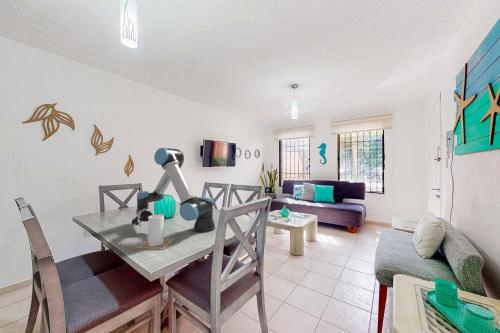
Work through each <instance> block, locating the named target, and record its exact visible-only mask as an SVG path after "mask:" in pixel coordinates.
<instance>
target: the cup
mask: <svg viewBox="0 0 500 333" xmlns="http://www.w3.org/2000/svg"><path fill="white" fill-rule="evenodd" d="M164 215H165V214H160V215H156V214H153V215H151V216H149V217H148V221H147V222H148V224H147V228H148V229H147V230H148V231H147V233H148V234H147V236H148V238H147V240H148V245H149V246H159V245H161V244H163V243H164V237H165V232H164V231H165V223H164Z"/></svg>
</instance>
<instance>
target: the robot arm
mask: <svg viewBox="0 0 500 333" xmlns="http://www.w3.org/2000/svg"><path fill="white" fill-rule="evenodd" d="M153 156H154V157H153V159H154V162H155V164H157V165H159V166H160V167H161V168H162V170H164V172H163V173H162V176H161V178H160V179H159V181H158V183H157V185H156V186H155V188H154V190H153V192H152V191H151V192H149V191H147V190H142V191H141V190H140V191H137V194H136V204H137V205H136V210H135V214H136V216H135V217H133V219H131V225H135V226H138V227H139V228H140V227H142V222H145V223H147V222H148V217H149V216H151V215H154V214H153V213H152V212H151V211H150V210H149V204H150V203H154V202H160V201H162V200H164V199H165V192H166V190H168V187H169V185H170V183H171V184H172V187H174V190H175V192H176V194H177V196H178V198H179V200H180V202H179V206H180V207H179V215H180V217H181V218H182V219H183V220H185V221H187V222H188V221H189V222H192V221H194V224H193V231H195V232H198V233H207V232H212V231H214V230H215V229H216V225H215V224H216V223H215V221H214V218H213V215H214V212H213V211H214V201H213V200H214V199H213V198H212V197H207V196H197V195H195V194H194V193H193V192H192V190H191V188H190V186H189V184H188V182H187V180H186V177H185V176H184V173H183V172H182V170H181V168H182V167H183V164H184V162H185V154H184V153H183V151H182V150H180V149H177V148H169V147H159V148H158V149H157V150H156V151H155V152H154V155H153ZM155 215H161V214H159V213H155ZM163 215H164V224H165V221H166V219H167V215H166V214H163Z"/></svg>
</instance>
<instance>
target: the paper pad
mask: <svg viewBox="0 0 500 333" xmlns="http://www.w3.org/2000/svg"><path fill="white" fill-rule="evenodd" d="M174 241H175V239H164V243H163V244H161V245H159V246H149V245H148V239H147V240H146V241H145V240H144V242H142V243H141V244H140V245H139V246H137V247H135V250H137V249H138V250H166V249H167V248H168V247H169V246H170V245H171V244H172V243H173V242H174Z"/></svg>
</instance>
